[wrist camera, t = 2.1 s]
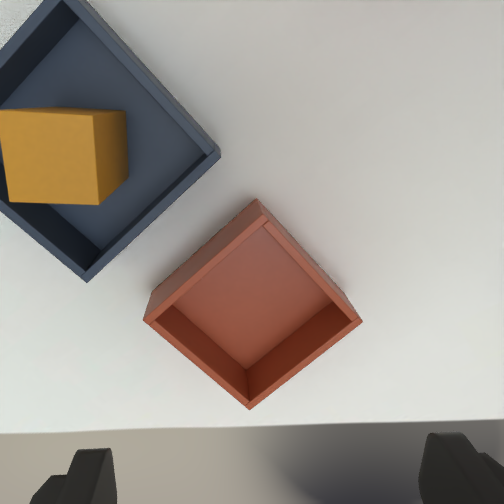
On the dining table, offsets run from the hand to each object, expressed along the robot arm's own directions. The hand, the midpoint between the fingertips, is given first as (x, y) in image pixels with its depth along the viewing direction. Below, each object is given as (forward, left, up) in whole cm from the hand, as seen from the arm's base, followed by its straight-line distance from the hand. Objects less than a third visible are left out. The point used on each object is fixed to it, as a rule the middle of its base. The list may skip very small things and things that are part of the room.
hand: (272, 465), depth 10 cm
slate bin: (-7, -9, -22) cm, 25 cm away
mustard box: (-7, -9, -22) cm, 25 cm away
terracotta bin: (+6, +1, -22) cm, 23 cm away
